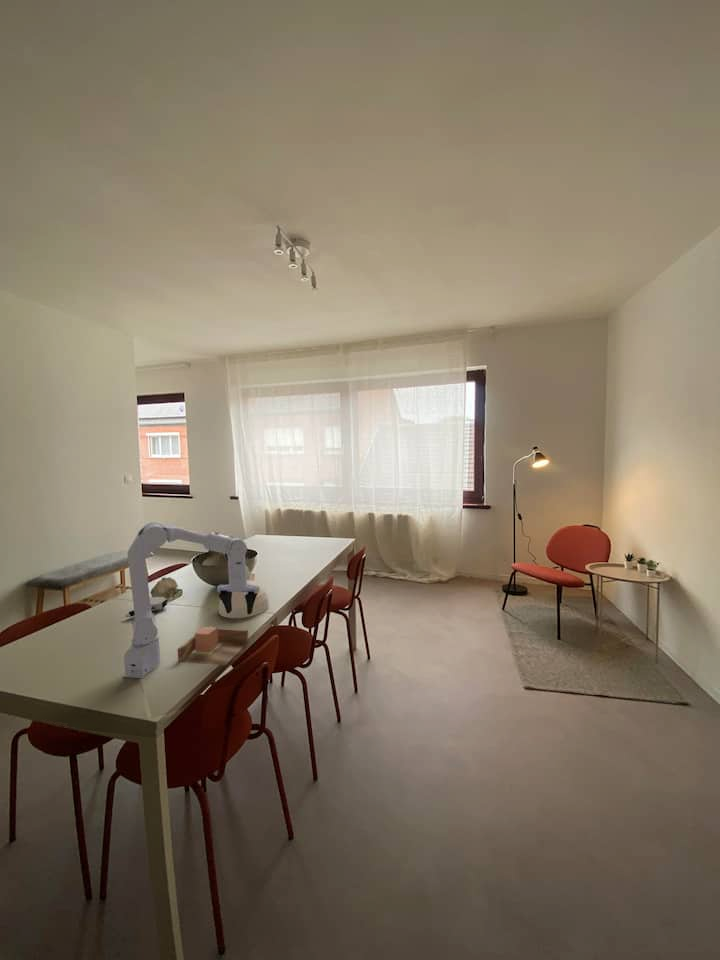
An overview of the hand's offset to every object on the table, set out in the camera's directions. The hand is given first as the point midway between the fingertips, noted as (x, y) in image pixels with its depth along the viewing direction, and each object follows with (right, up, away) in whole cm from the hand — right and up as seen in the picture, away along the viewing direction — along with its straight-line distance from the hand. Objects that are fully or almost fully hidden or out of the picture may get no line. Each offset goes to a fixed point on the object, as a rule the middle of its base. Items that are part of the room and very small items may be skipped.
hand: (239, 612), depth 134 cm
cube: (-9, -10, -5) cm, 14 cm away
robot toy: (-46, -10, +29) cm, 55 cm away
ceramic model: (-47, -9, +45) cm, 66 cm away
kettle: (-7, -9, +31) cm, 33 cm away
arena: (-6, -11, -6) cm, 14 cm away
